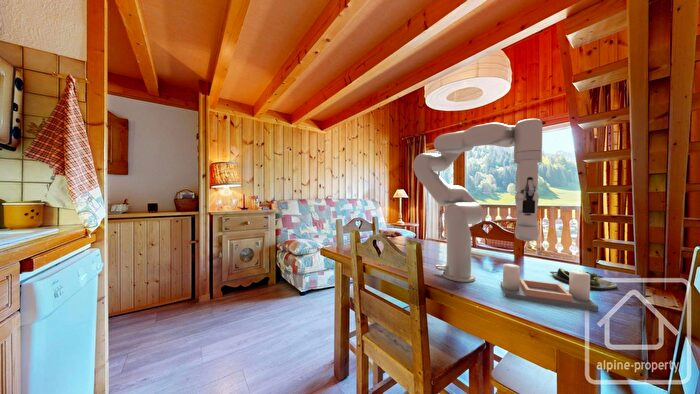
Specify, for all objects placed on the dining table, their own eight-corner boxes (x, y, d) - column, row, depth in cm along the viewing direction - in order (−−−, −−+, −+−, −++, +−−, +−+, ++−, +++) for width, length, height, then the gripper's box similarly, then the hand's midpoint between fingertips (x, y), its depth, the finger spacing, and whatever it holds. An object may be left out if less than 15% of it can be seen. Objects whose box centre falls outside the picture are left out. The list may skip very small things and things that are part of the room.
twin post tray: (505, 297, 85) (505, 269, 85) (500, 285, 96) (500, 260, 96) (598, 311, 75) (598, 280, 75) (581, 296, 86) (581, 269, 86)
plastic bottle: (530, 243, 78) (531, 179, 77) (509, 239, 84) (510, 180, 84) (543, 242, 80) (544, 180, 80) (522, 238, 86) (523, 181, 86)
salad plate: (581, 274, 110) (581, 263, 110) (632, 289, 92) (632, 277, 92) (543, 276, 108) (543, 265, 108) (587, 292, 90) (587, 279, 90)
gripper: (510, 161, 91) (510, 210, 91) (517, 155, 76) (516, 213, 76) (536, 160, 88) (535, 211, 88) (548, 153, 72) (547, 215, 73)
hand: (526, 211), depth 82 cm, fingers closed on plastic bottle, 6 cm apart
